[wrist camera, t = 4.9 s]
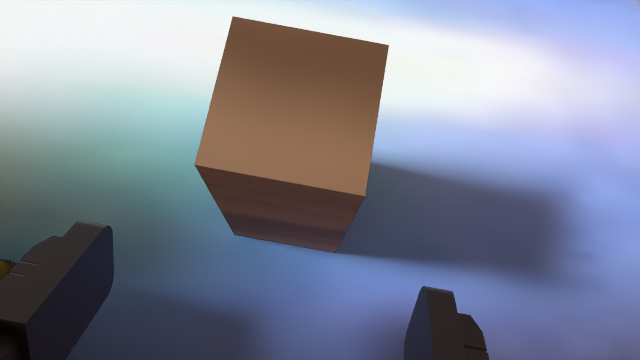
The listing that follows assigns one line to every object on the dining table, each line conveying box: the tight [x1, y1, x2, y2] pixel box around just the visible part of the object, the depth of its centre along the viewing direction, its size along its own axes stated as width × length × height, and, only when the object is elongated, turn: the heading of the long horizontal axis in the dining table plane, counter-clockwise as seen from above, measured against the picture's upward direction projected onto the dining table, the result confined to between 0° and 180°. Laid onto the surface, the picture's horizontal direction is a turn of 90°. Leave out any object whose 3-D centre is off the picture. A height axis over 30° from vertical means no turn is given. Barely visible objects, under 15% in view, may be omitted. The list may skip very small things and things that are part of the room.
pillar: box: [195, 17, 389, 253], centre depth 19 cm, size 4×4×10 cm
